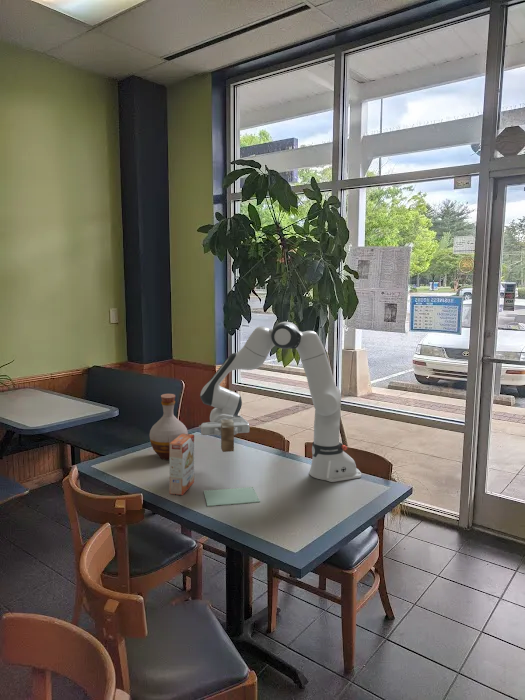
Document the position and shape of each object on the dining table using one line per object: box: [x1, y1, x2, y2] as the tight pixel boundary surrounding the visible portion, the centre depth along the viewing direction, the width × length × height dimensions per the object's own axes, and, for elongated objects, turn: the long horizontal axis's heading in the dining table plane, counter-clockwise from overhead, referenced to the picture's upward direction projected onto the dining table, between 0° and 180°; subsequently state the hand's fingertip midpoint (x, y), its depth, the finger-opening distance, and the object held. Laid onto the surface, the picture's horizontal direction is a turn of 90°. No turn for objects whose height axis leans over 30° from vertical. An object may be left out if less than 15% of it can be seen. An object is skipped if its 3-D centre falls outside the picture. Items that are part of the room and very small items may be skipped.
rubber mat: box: [203, 486, 261, 507], centre depth 204 cm, size 20×14×1 cm
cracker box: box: [169, 433, 195, 496], centre depth 210 cm, size 14×6×21 cm, turn 168°
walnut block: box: [220, 419, 235, 453], centre depth 212 cm, size 4×4×12 cm
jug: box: [149, 393, 189, 461], centre depth 248 cm, size 20×18×30 cm
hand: (227, 433), depth 211 cm, fingers closed on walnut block, 4 cm apart
